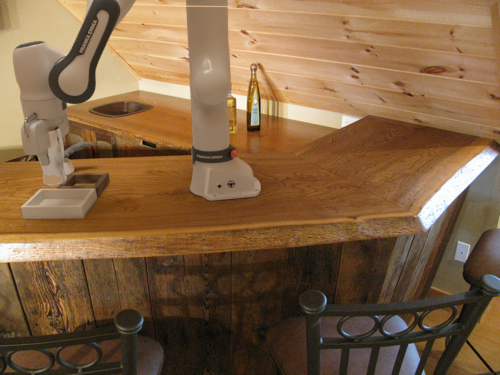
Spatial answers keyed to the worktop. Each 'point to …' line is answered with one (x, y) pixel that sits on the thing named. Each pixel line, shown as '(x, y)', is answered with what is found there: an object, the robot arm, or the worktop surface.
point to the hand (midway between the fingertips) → (52, 159)
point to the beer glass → (55, 160)
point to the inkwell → (67, 163)
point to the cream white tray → (59, 203)
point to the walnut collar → (86, 181)
